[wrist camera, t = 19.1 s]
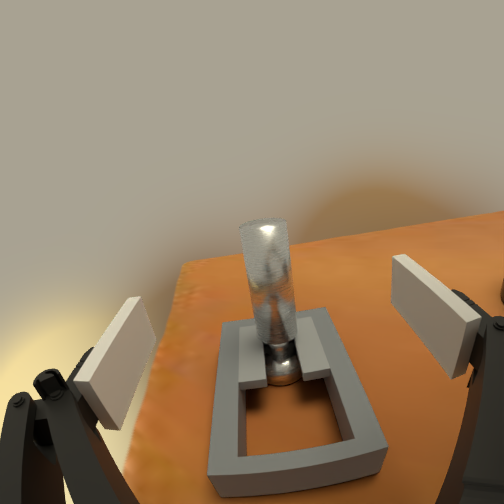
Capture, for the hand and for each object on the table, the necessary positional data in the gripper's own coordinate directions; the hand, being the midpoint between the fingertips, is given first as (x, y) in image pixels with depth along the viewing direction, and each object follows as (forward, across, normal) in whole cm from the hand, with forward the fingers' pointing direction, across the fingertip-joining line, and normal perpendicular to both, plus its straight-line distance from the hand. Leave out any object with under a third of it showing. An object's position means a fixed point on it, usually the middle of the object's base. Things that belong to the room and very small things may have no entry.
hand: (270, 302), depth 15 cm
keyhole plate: (+7, 0, -15) cm, 17 cm away
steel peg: (+12, 0, -15) cm, 19 cm away
